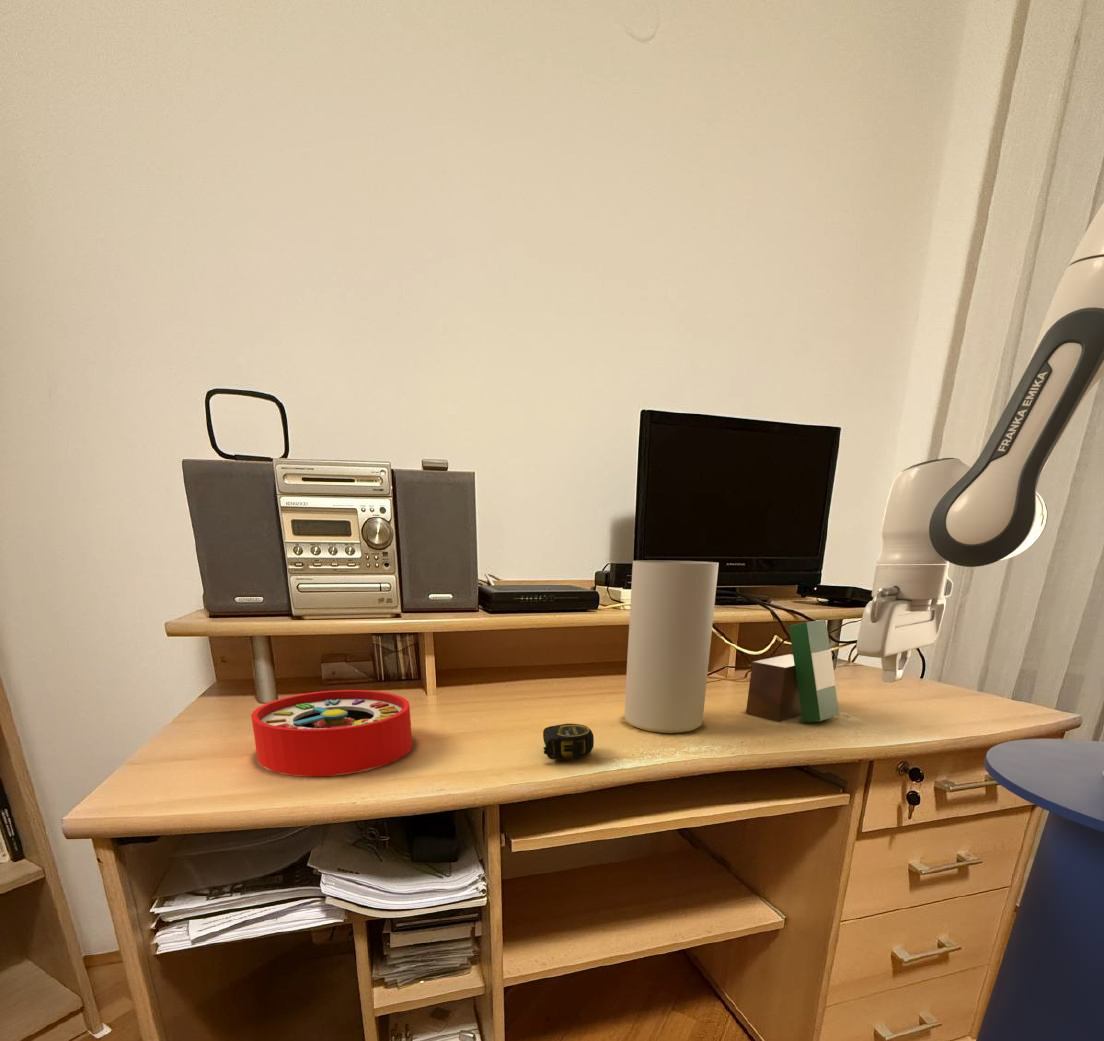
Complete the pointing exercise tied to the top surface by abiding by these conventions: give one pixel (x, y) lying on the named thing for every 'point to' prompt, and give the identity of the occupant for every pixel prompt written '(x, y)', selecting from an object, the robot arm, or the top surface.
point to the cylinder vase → (669, 644)
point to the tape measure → (568, 741)
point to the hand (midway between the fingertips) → (891, 680)
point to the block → (773, 689)
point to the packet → (814, 670)
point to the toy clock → (332, 732)
